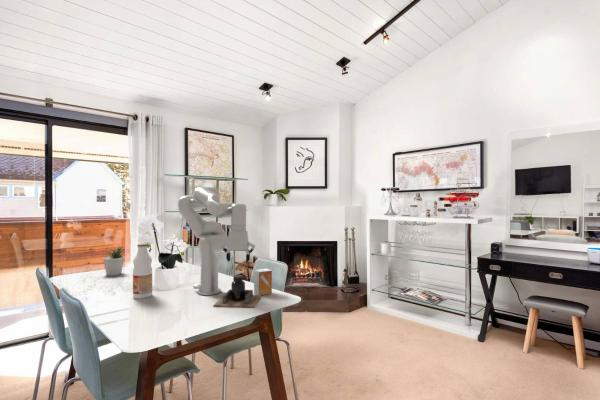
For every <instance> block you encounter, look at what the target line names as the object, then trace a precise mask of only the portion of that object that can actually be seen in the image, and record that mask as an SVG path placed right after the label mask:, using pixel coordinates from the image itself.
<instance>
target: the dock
mask: <svg viewBox="0 0 600 400" xmlns="http://www.w3.org/2000/svg"><path fill="white" fill-rule="evenodd" d="M261 297H262V295H256V294H254V289H245V299H244V300H242V301H233V300H232V292H231V289H228V290H227V291H226V292H225V294H223V295H222V296H221V297H220V298H219V299H218V300H217V301H216V302H215V303H214V304H213V305H212V306H213V307H214V308H247V309H248V308H249V309H251V308H252V309H254V308H256V306H257V304H258V303H259V301H260V300H261Z"/></svg>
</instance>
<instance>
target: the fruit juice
mask: <svg viewBox="0 0 600 400" xmlns="http://www.w3.org/2000/svg"><path fill="white" fill-rule="evenodd" d="M148 246H149V245H148V243H138V244H137V251H136V254H135V256H134V258H133V261H132V264H133V268H132V298H134V299H146V298H150V297H151V296H152V295H153V267H152V262H153V259H152V256H151V255H150V254H149V253H150V252H148V251H149V250H148Z"/></svg>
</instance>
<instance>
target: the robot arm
mask: <svg viewBox="0 0 600 400" xmlns="http://www.w3.org/2000/svg"><path fill="white" fill-rule="evenodd" d="M177 207H178V212H179V213H180V215H181V217H182V218H183V219H184V221H185V222H187V224H188V226H189V228H190V229H191V231H192V232H193V233H192V234H193V235H194V236H195V237H196V238H197V239H199V241H198V249H199V255H200V284H193V289H195V290H197V295H198V294H199V296H200V295H201V296H213V295H218V294H220V293H221V292H222V289H221V288H220V287H219V258H218V256H217V255H216V253H217V252H223V251H224V253H225V254H226V261H227V263H229V262H230V261H231V251H233V252H245V253H246V254H245V256H246V257H245V263H248V262H249V261H251V256H250V255H251V253H253V252H254V250H255V247H256V244H253V243H251V242H250V241H249V234H248V230H247V205H246V204H245V203H235V202H221V197H220V191H219V189H217V188H216V187H213V186H212V187H211V186H199V187H197V188H195V190H194V191H193V193H192V194H191V195H183V196H181V197H180V198H179V199H178V202H177ZM205 209H206V210H207V212H208V213H209V214H210V215H212V216H213V217H215V218H219V219H221V218H222V219H224V218H230V225H228V229H230V230H229V231H228V235H227V233H226V232H225V230H224V228H223V227H222V225H220V223H219V222H218V221H214V220H208V221H207V220H204V218H203V217H202V215H201V214H200V213H198V211H196V210H205ZM249 247H251V248H250V249H249Z"/></svg>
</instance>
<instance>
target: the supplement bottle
mask: <svg viewBox="0 0 600 400" xmlns="http://www.w3.org/2000/svg"><path fill="white" fill-rule="evenodd" d="M230 290H231V292H232V300H233V301H242V300H244V299H245V290H246V283H245V281H244V276H243V275H240V274H237V275H233V279H232V281H231V289H230Z"/></svg>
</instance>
